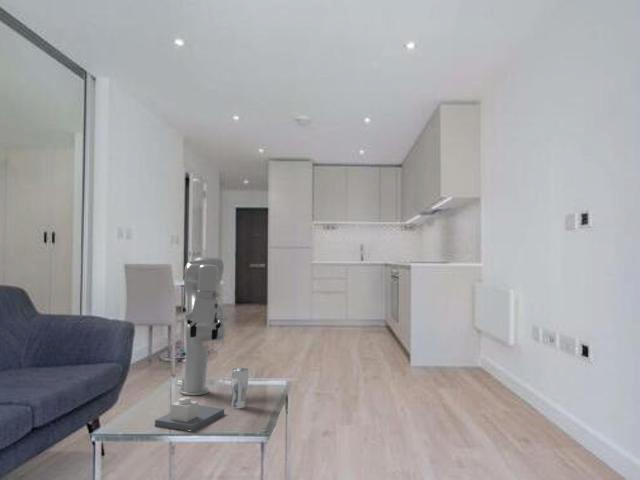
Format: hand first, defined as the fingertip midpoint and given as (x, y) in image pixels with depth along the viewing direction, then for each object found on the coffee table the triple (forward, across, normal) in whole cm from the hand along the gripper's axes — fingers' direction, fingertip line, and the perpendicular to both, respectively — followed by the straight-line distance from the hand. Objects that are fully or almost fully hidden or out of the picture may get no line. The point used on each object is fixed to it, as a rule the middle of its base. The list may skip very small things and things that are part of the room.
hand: (203, 338), depth 182 cm
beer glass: (+28, -13, -8) cm, 32 cm away
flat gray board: (+27, -6, +14) cm, 31 cm away
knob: (+25, -6, +19) cm, 32 cm away
